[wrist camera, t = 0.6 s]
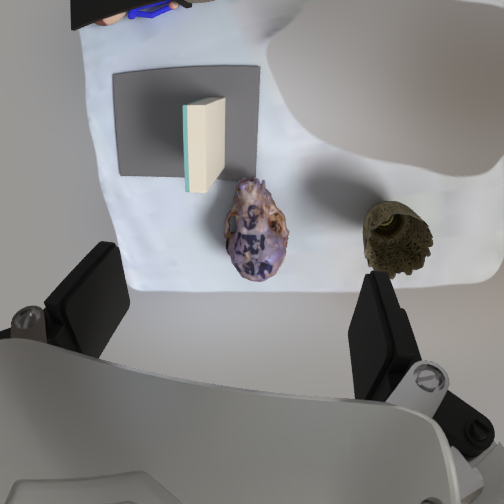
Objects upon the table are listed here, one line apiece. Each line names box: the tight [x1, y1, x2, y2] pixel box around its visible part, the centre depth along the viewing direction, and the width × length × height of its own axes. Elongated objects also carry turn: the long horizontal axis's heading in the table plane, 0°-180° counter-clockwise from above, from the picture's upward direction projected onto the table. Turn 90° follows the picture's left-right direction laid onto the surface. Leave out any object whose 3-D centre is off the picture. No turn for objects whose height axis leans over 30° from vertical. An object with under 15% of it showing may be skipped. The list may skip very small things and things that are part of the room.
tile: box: [183, 97, 225, 193], centre depth 30 cm, size 8×2×8 cm, turn 178°
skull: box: [224, 177, 289, 282], centre depth 36 cm, size 12×8×6 cm, turn 178°
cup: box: [363, 201, 433, 279], centre depth 33 cm, size 8×7×8 cm
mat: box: [113, 66, 260, 181], centre depth 33 cm, size 13×17×1 cm
